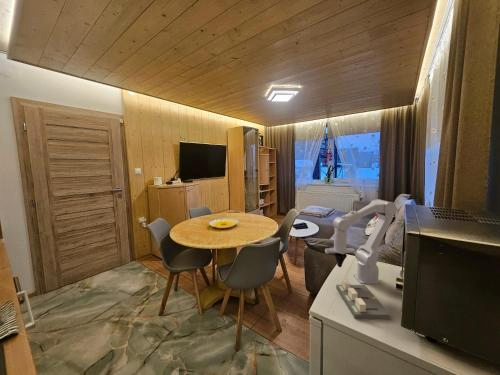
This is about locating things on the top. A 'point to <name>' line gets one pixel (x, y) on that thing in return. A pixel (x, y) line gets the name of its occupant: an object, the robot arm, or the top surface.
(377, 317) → the breaker panel
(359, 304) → the block
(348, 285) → the block
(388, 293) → the top surface
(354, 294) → the breaker
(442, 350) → the top surface
